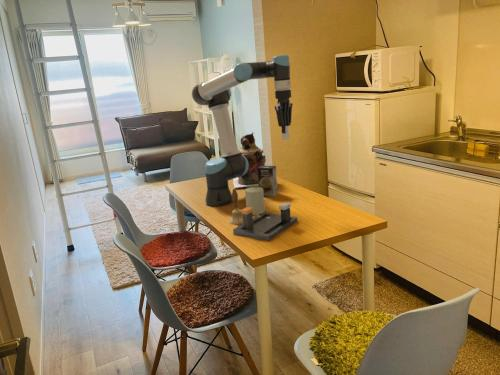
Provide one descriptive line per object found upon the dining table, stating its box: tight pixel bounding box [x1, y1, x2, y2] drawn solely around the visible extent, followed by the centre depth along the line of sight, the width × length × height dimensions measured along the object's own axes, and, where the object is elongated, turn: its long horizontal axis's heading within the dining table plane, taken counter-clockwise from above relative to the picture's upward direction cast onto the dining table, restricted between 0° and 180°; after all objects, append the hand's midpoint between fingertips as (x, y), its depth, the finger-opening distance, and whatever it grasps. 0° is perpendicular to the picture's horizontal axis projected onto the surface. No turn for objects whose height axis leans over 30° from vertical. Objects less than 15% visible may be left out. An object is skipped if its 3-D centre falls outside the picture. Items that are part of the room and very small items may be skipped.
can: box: [244, 186, 266, 216], centre depth 199 cm, size 9×9×12 cm
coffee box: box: [258, 165, 278, 197], centre depth 225 cm, size 9×6×16 cm
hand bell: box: [228, 188, 243, 226], centre depth 186 cm, size 8×8×16 cm
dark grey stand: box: [232, 202, 298, 242], centre depth 177 cm, size 18×24×10 cm
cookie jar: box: [232, 131, 267, 189], centre depth 250 cm, size 25×25×32 cm
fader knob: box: [240, 206, 254, 229], centre depth 175 cm, size 3×5×9 cm
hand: (285, 139), depth 194 cm, fingers closed
